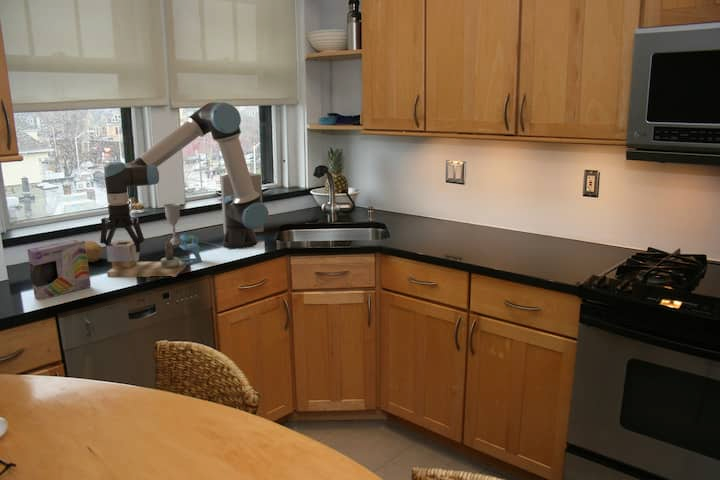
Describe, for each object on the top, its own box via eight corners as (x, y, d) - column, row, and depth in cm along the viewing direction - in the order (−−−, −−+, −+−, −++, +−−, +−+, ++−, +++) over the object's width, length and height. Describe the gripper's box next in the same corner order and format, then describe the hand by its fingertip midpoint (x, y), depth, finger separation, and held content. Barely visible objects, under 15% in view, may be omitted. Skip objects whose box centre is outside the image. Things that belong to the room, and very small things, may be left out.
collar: (140, 255, 247) (138, 240, 246) (131, 261, 238) (129, 246, 237) (117, 255, 248) (116, 240, 246) (107, 261, 239) (106, 246, 237)
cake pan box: (36, 301, 211) (29, 250, 207) (30, 298, 214) (23, 248, 210) (92, 287, 225) (86, 240, 221) (85, 285, 228) (80, 237, 224)
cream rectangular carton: (256, 225, 323) (254, 171, 317) (264, 231, 310) (261, 175, 303) (219, 229, 316) (216, 173, 309) (225, 235, 303) (221, 177, 296)
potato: (78, 267, 250) (75, 248, 248) (78, 259, 263) (76, 240, 261) (104, 264, 254) (102, 245, 252) (103, 256, 267) (101, 238, 265)
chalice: (170, 246, 283) (167, 206, 279) (164, 243, 288) (160, 204, 284) (185, 243, 288) (182, 204, 283) (179, 240, 293) (176, 202, 288)
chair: (204, 263, 255) (201, 234, 252) (183, 266, 251) (181, 237, 248) (197, 258, 261) (195, 230, 259) (178, 261, 257) (175, 233, 254)
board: (186, 266, 250) (184, 237, 247) (175, 276, 237) (172, 246, 234) (122, 266, 251) (119, 237, 248) (107, 276, 238) (104, 246, 235)
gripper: (85, 205, 235) (92, 263, 240) (142, 205, 234) (148, 263, 239) (94, 201, 242) (101, 258, 247) (150, 201, 241) (155, 257, 246)
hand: (124, 260), depth 243 cm, fingers closed on collar, 9 cm apart
